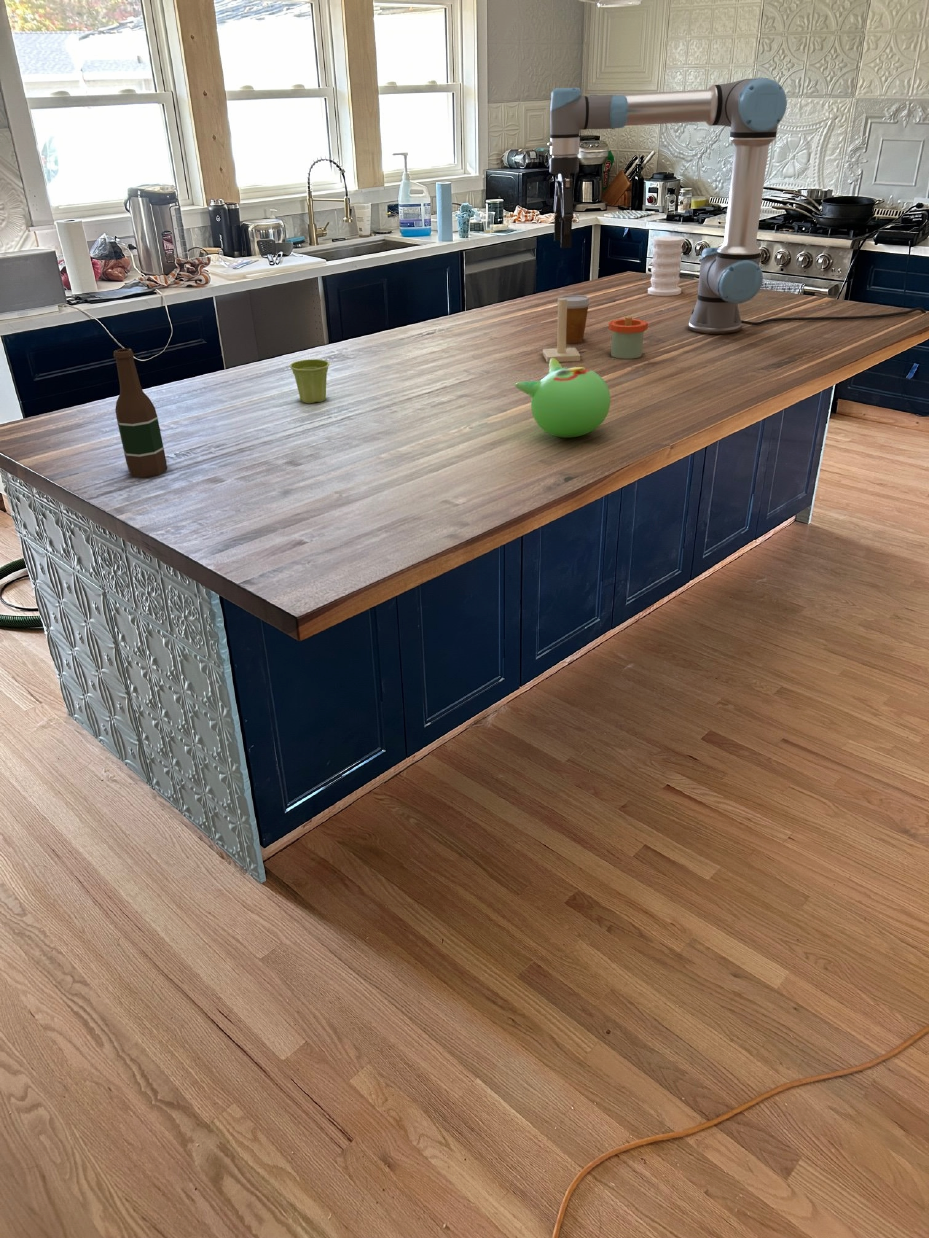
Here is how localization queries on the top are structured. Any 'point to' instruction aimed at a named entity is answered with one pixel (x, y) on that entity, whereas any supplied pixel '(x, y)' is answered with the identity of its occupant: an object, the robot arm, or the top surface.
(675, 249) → the decorative container
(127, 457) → the beer bottle
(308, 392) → the plant pot
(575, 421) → the toy bird
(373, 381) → the top surface
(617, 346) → the green cylinder with peg
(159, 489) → the top surface
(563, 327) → the tall post
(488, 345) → the top surface
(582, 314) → the disposable coffee cup
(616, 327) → the ring
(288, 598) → the top surface
